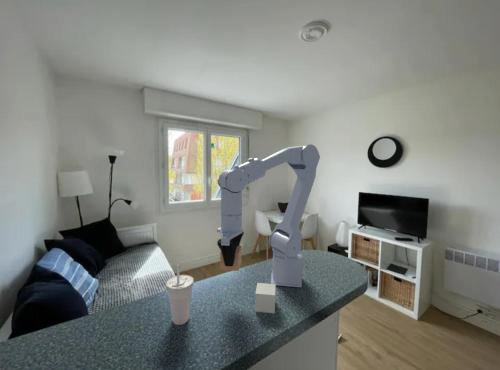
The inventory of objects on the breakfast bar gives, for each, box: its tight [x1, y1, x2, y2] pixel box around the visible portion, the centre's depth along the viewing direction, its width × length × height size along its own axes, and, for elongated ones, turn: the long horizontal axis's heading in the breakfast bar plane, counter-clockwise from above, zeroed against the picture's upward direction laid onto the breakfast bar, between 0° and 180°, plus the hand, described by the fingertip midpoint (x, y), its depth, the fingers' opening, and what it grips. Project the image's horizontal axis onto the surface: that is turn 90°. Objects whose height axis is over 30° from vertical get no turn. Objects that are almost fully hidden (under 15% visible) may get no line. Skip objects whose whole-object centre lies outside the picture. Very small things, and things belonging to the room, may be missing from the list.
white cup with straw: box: [165, 264, 195, 326], centre depth 53 cm, size 6×6×14 cm
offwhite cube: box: [254, 282, 277, 314], centre depth 58 cm, size 5×5×5 cm
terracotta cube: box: [219, 245, 243, 272], centre depth 62 cm, size 5×5×5 cm
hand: (231, 261), depth 62 cm, fingers closed on terracotta cube, 5 cm apart
